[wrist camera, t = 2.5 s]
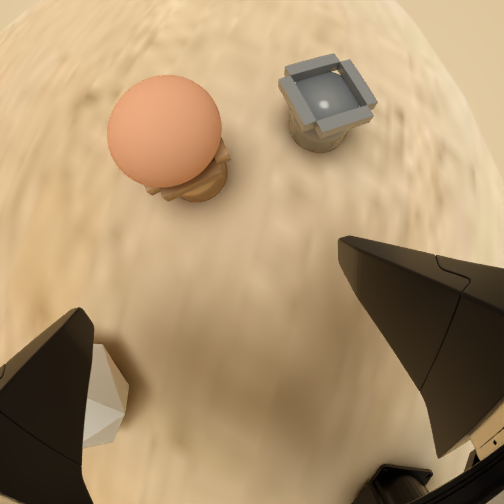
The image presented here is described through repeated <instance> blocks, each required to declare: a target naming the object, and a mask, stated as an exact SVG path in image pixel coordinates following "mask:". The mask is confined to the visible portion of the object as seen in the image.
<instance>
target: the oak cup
mask: <svg viewBox="0 0 504 504" xmlns="http://www.w3.org/2000/svg"><path fill="white" fill-rule="evenodd" d="M229 160H231V159H230V157H229V154H228V152H227V149H226V147H225V145H224V143H223V140H222V138H221V139H220V143H219V146H218V149H217V151H216V153H215V155H214V157H213V159H212V160H211V162H210V163H209V165H208V166H207V167H206V168H205V169H204V170H203V171H202V172H201V173H200V174H199V175H197V176H196V177H194V178H193V179H191V180H189V181H187V182H185V183H182V184H180V185H176V186H172V187H151V186H146V185H144V186H145V189H146V192H148V193H149V194H151V195H154V194H156V193H159V192H161V194H162V197H163V199H165V200H167V201H170V200H172V199H175V198H177V197H179V196H180V197H181V198H183V199H185V200H187V201H191V202H202V201H206V200H209V199H210V198H212V197H214V196H215V195H216V194H218V193H219V191H220V190H221V189H222V187H223V186H224V184H225V181H226V177H227V167H226V164H225V162H227V161H229Z"/></svg>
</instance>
